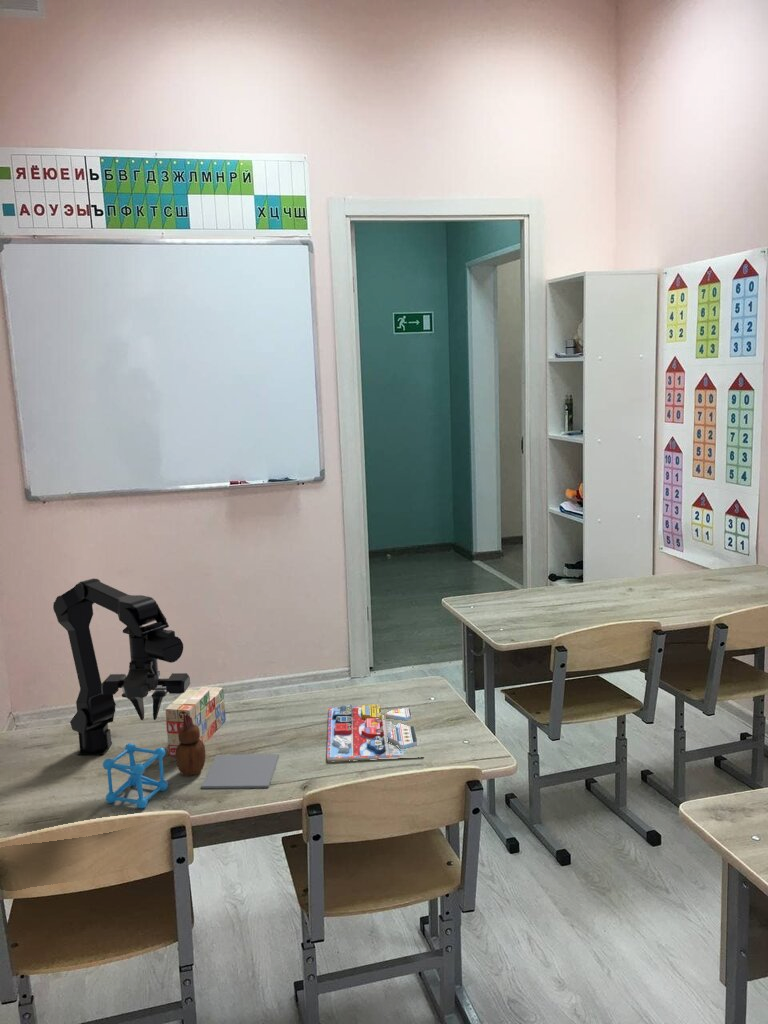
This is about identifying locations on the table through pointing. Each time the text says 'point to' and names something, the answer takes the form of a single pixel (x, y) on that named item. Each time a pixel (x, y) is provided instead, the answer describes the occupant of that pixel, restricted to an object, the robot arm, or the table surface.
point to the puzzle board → (367, 733)
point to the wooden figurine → (190, 749)
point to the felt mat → (241, 771)
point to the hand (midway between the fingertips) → (148, 719)
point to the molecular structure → (135, 775)
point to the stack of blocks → (195, 714)
